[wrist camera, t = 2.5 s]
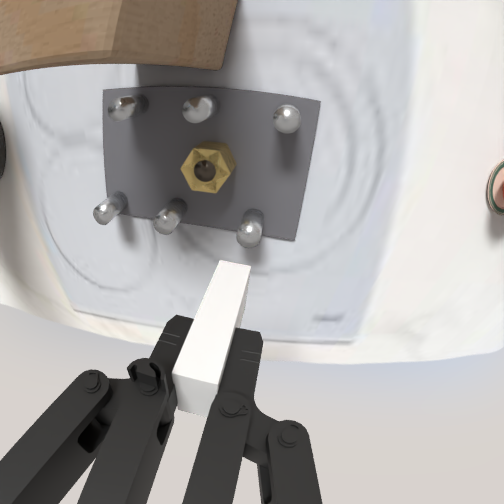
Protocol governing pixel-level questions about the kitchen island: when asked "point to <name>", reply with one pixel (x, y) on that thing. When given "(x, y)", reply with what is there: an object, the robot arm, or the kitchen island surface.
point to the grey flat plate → (212, 130)
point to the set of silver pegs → (174, 211)
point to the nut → (208, 166)
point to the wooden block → (113, 33)
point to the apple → (497, 189)
